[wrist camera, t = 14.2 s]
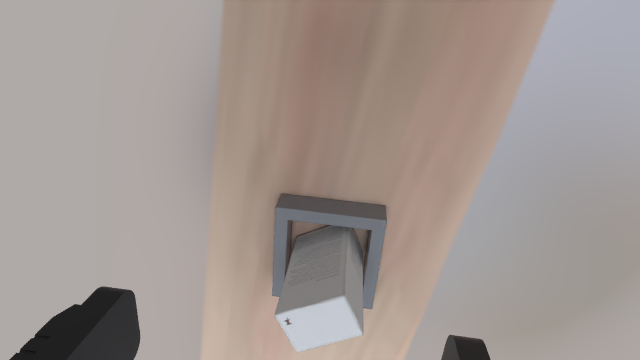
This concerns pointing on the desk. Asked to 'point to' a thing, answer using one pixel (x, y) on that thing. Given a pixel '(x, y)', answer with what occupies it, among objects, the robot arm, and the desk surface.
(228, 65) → the desk surface
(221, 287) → the desk surface
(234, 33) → the desk surface
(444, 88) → the desk surface
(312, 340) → the skincare box
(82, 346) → the robot arm
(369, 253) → the frame
